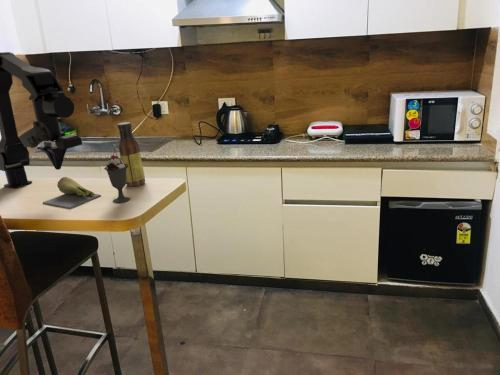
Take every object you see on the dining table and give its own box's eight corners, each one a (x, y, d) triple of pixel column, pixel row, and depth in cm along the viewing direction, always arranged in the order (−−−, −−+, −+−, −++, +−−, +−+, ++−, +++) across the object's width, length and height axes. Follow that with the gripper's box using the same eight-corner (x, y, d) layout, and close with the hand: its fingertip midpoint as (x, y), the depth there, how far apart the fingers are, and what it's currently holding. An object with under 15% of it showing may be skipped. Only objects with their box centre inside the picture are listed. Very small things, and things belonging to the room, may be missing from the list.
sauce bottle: (147, 180, 140) (138, 120, 134) (143, 186, 134) (134, 124, 128) (127, 182, 140) (117, 121, 134) (122, 188, 134) (112, 125, 128)
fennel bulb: (74, 182, 134) (97, 192, 128) (65, 195, 133) (87, 206, 126) (61, 172, 130) (84, 182, 123) (51, 185, 128) (74, 196, 122)
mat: (42, 203, 125) (42, 202, 125) (73, 191, 134) (73, 190, 134) (70, 208, 119) (70, 207, 119) (100, 196, 128) (100, 194, 128)
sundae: (126, 194, 128) (118, 145, 123) (137, 199, 123) (130, 148, 118) (105, 201, 124) (96, 150, 119) (116, 206, 119) (107, 153, 114)
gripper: (-1, 120, 118) (13, 174, 123) (42, 122, 109) (55, 180, 114) (35, 113, 127) (46, 164, 132) (78, 114, 118) (88, 169, 123)
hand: (58, 169), depth 125 cm, fingers closed
